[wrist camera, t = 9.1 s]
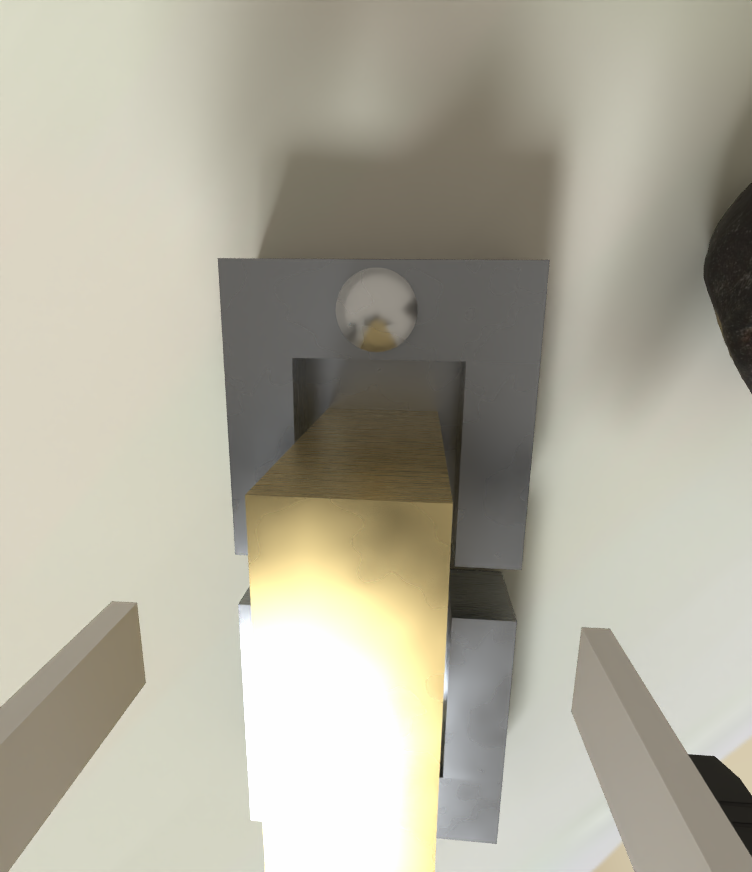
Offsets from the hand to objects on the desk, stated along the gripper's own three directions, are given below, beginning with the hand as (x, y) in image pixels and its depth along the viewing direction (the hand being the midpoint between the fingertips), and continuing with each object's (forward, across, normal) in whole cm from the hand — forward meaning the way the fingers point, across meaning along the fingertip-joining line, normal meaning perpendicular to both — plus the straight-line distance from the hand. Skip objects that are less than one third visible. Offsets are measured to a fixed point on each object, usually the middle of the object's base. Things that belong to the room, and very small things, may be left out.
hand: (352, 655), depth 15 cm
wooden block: (+5, 0, 0) cm, 5 cm away
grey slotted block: (+7, 0, 0) cm, 7 cm away
